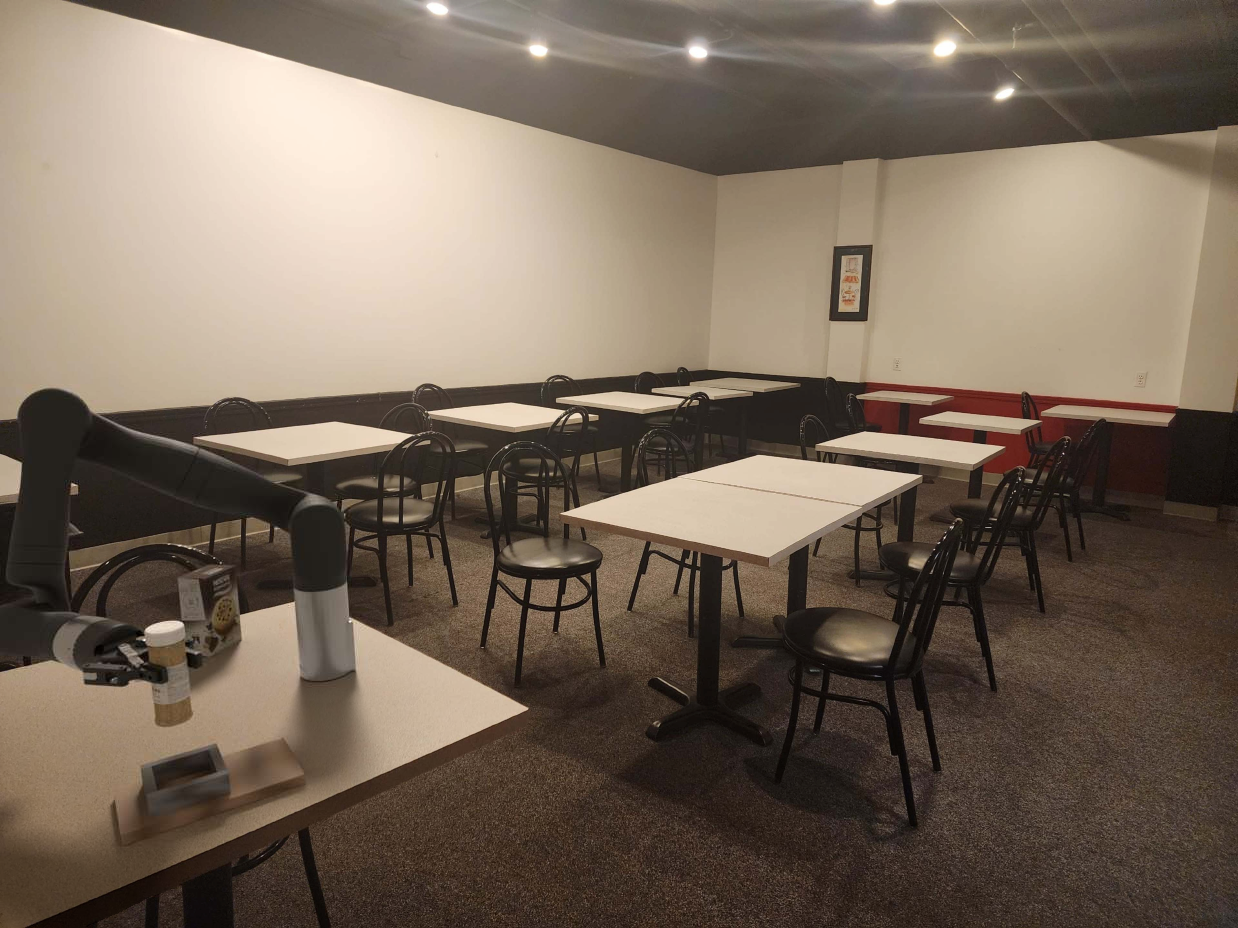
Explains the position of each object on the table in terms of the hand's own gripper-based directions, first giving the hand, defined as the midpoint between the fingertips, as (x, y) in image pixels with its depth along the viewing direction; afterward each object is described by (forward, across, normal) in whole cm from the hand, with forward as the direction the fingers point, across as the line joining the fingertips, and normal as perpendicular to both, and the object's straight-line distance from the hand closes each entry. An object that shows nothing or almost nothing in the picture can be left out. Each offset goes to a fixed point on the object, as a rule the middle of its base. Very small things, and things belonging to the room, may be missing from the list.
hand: (182, 668), depth 99 cm
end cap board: (0, +3, +20) cm, 20 cm away
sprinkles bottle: (-3, 0, +8) cm, 9 cm away
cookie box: (-43, +37, +20) cm, 60 cm away
